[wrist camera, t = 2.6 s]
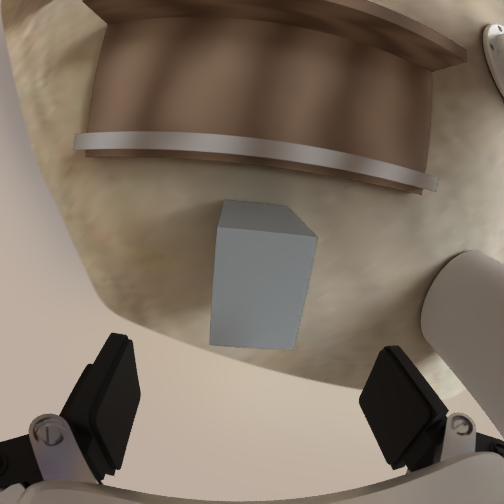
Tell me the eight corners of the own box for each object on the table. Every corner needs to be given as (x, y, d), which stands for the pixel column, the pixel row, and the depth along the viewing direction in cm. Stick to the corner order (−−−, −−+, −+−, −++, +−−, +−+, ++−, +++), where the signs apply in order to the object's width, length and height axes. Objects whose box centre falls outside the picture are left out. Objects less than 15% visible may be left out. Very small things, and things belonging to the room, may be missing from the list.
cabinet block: (287, 206, 23) (317, 237, 14) (273, 296, 25) (290, 362, 17) (224, 199, 22) (217, 226, 14) (216, 291, 25) (208, 357, 16)
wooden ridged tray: (423, 64, 19) (465, 49, 12) (412, 192, 23) (457, 206, 17) (117, 19, 16) (87, -11, 10) (93, 156, 20) (50, 160, 14)
